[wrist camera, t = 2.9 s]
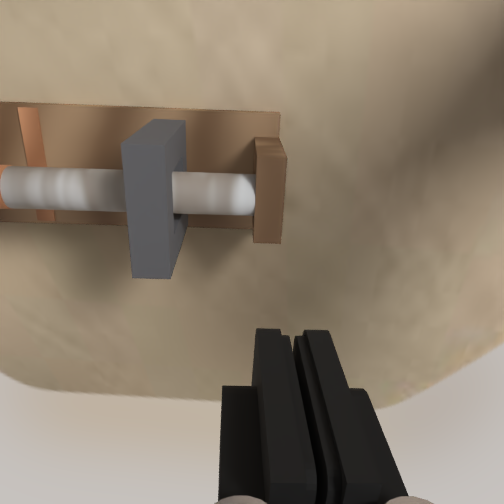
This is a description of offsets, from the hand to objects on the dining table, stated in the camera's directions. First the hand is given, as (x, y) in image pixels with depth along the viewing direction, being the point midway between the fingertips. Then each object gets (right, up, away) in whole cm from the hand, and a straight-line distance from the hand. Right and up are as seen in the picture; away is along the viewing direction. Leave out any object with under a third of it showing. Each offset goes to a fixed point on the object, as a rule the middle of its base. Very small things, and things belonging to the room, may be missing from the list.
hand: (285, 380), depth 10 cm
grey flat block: (-6, +8, +18) cm, 21 cm away
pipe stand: (-10, +9, +20) cm, 24 cm away
